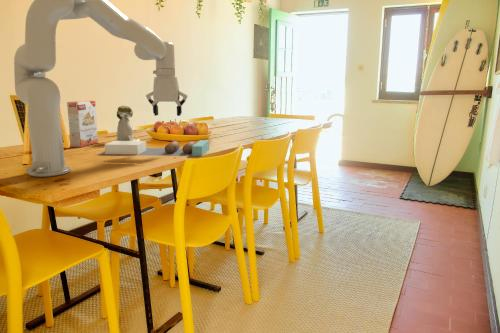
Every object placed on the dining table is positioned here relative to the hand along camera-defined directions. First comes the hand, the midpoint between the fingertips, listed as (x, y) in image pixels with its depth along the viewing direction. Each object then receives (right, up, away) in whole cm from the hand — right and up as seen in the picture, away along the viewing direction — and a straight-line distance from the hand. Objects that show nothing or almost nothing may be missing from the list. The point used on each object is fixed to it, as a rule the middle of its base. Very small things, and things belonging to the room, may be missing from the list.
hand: (167, 115), depth 162 cm
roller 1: (+1, -15, +4) cm, 16 cm away
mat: (-6, -16, +4) cm, 17 cm away
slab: (-18, -15, +3) cm, 24 cm away
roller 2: (+9, -15, +3) cm, 18 cm away
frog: (-26, -10, +29) cm, 41 cm away
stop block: (+14, -15, +2) cm, 21 cm away
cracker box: (-45, -11, +24) cm, 52 cm away
